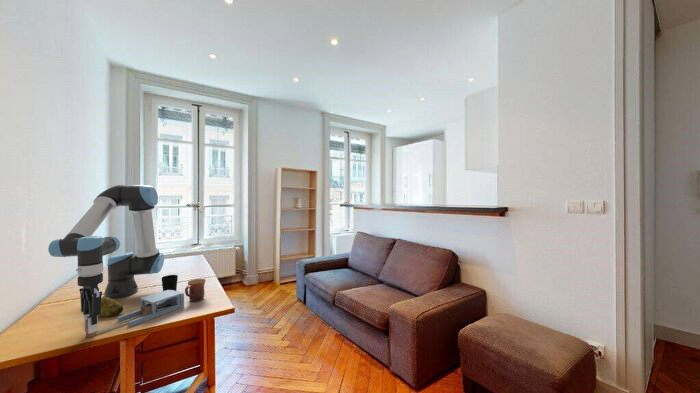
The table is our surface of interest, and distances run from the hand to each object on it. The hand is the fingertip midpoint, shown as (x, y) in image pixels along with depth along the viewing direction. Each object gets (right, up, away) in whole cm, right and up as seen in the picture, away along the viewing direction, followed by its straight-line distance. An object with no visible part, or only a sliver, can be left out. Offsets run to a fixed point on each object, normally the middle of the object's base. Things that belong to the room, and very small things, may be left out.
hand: (90, 330), depth 110 cm
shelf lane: (+10, -2, +20) cm, 22 cm away
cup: (+5, -2, +40) cm, 41 cm away
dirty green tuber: (-11, -2, +19) cm, 22 cm away
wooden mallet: (+5, -2, +10) cm, 11 cm away
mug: (+22, -2, +37) cm, 42 cm away
